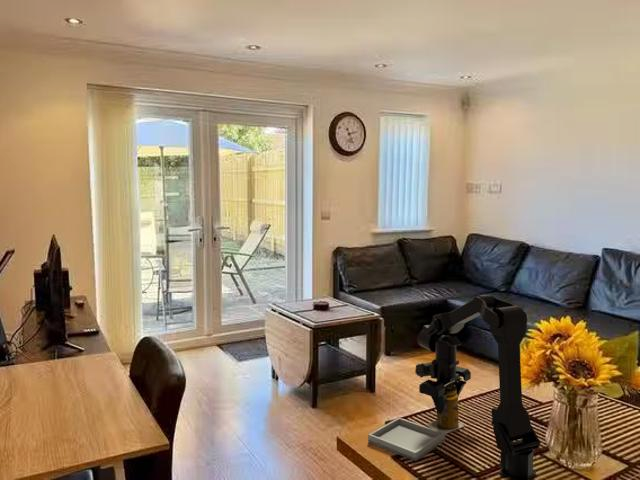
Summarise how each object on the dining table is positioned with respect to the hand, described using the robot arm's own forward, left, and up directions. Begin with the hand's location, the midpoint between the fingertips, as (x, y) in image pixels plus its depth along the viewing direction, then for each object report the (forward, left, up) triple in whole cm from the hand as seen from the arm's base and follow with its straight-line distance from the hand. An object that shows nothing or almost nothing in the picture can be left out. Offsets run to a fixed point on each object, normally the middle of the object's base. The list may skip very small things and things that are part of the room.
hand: (445, 409), depth 154 cm
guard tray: (+3, +15, -5) cm, 16 cm away
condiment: (0, 0, -5) cm, 5 cm away
